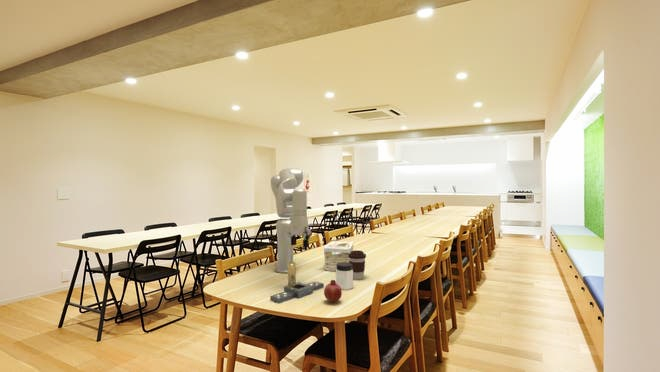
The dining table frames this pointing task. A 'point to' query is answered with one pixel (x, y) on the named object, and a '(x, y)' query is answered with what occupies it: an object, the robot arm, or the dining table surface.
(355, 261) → the coffee cup
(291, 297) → the grey socket base
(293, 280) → the pin
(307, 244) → the robot arm
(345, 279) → the jar
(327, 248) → the storage basket
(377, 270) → the dining table surface
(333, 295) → the fruit
